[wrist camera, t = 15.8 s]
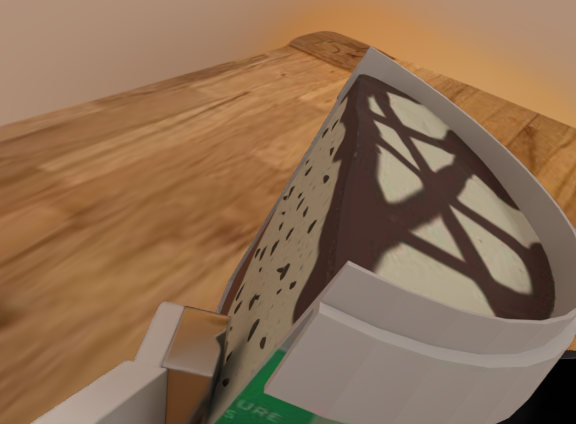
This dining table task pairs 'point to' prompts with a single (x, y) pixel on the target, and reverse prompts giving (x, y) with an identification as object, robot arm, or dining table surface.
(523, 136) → the dining table surface
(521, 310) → the food container
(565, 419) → the pan
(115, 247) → the dining table surface
